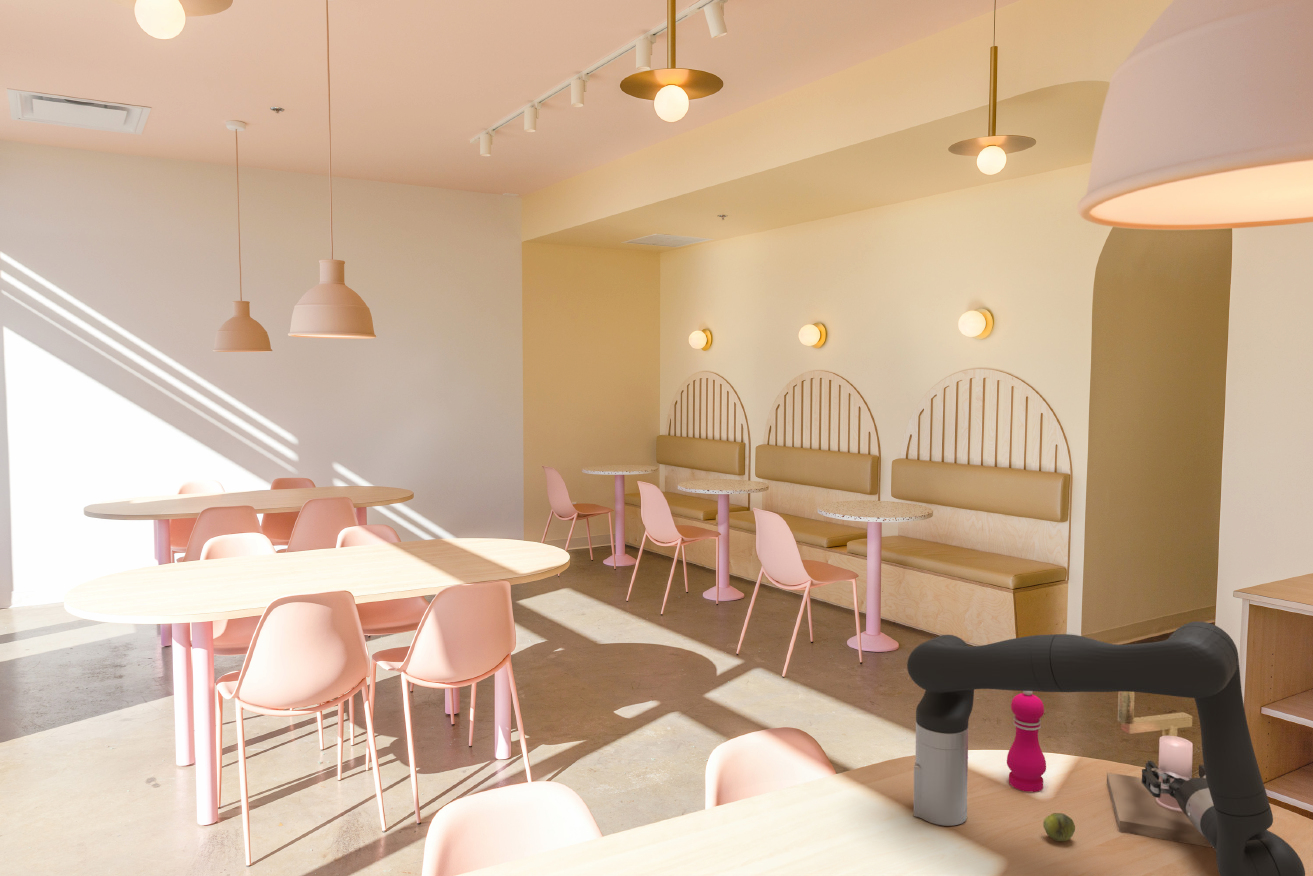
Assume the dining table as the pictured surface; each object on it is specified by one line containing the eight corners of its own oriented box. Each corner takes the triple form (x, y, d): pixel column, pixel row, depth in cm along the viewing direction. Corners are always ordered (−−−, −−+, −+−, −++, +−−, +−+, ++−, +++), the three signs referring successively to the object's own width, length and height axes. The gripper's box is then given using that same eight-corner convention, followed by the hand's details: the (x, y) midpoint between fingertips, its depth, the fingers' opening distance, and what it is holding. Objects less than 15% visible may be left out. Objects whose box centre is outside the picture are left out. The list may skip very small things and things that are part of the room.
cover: (1158, 809, 155) (1160, 745, 154) (1153, 794, 161) (1155, 733, 160) (1195, 815, 153) (1197, 750, 152) (1188, 800, 158) (1191, 737, 158)
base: (1119, 831, 151) (1119, 816, 151) (1106, 782, 170) (1106, 768, 170) (1252, 854, 144) (1253, 838, 144) (1224, 799, 162) (1224, 785, 162)
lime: (1039, 836, 150) (1039, 809, 150) (1060, 831, 152) (1060, 804, 151) (1059, 849, 146) (1059, 821, 146) (1080, 844, 148) (1081, 816, 147)
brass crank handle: (1179, 776, 165) (1183, 639, 163) (1192, 783, 162) (1197, 643, 160) (1111, 785, 161) (1114, 645, 159) (1122, 793, 158) (1127, 650, 156)
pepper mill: (1052, 793, 165) (1054, 693, 164) (1014, 793, 166) (1016, 693, 164) (1036, 776, 173) (1038, 680, 171) (1000, 776, 173) (1002, 680, 171)
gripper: (1261, 793, 139) (1218, 751, 155) (1165, 785, 142) (1133, 744, 158) (1259, 837, 139) (1217, 790, 155) (1163, 828, 142) (1131, 783, 158)
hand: (1174, 767), depth 156 cm, fingers open, 8 cm apart
